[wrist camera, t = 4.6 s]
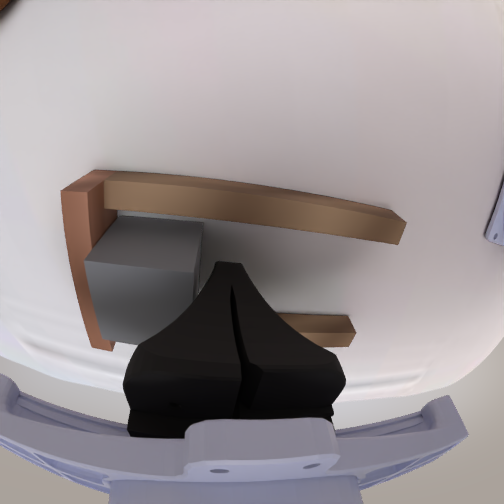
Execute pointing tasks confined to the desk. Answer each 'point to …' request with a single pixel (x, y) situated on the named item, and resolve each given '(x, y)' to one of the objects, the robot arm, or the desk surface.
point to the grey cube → (143, 276)
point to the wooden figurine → (3, 3)
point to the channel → (219, 208)
